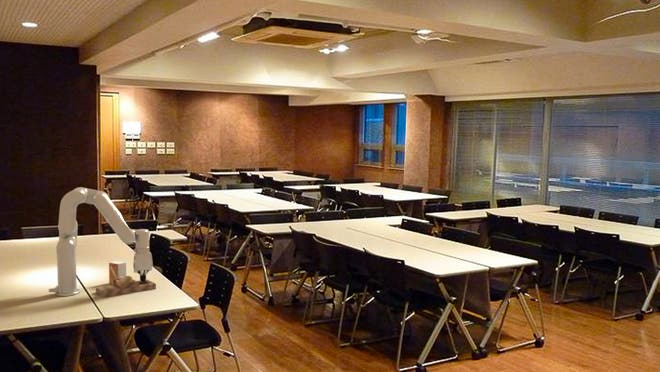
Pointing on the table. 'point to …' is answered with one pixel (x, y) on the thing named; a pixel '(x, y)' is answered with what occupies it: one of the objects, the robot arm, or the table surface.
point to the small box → (116, 270)
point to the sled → (121, 282)
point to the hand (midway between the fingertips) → (143, 281)
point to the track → (125, 288)
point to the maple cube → (125, 279)
